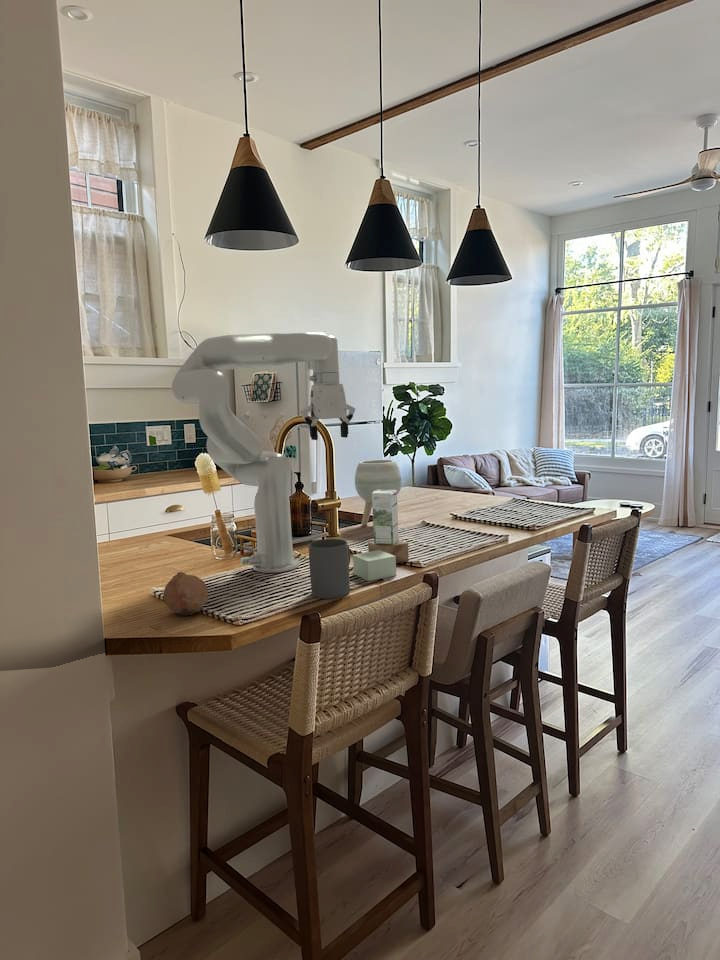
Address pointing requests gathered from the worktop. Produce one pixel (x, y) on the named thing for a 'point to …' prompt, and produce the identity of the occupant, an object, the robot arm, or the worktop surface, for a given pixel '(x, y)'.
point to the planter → (375, 481)
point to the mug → (329, 568)
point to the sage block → (374, 565)
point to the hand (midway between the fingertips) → (329, 438)
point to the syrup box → (385, 517)
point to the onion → (185, 594)
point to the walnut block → (392, 550)
